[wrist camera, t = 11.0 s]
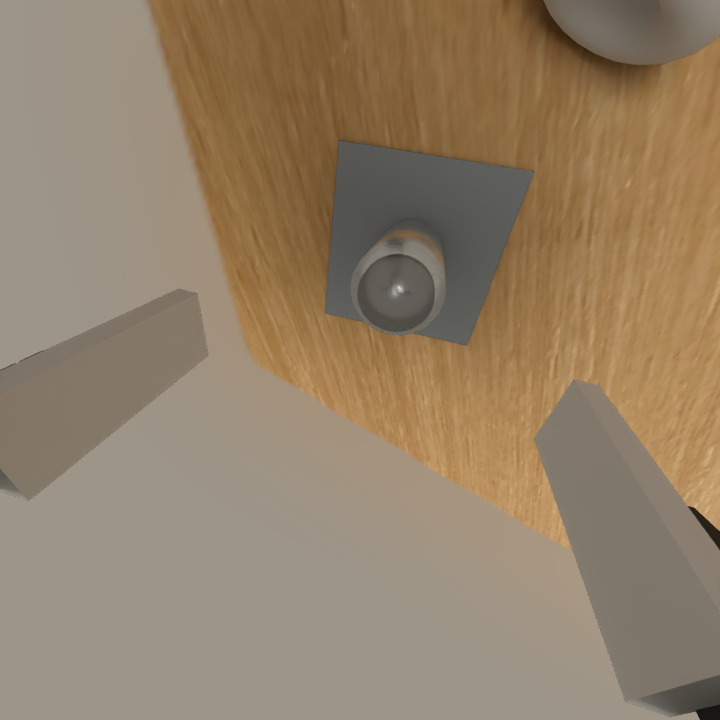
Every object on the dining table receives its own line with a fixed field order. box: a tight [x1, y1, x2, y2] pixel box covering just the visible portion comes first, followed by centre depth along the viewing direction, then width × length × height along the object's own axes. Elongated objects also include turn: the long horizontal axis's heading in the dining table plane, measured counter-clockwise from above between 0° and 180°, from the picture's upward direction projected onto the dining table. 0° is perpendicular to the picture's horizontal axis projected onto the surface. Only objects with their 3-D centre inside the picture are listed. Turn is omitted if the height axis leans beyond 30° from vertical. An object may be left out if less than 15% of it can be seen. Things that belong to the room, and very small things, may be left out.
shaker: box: [351, 218, 446, 335], centre depth 22 cm, size 6×6×12 cm
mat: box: [325, 140, 534, 345], centre depth 27 cm, size 15×15×1 cm
